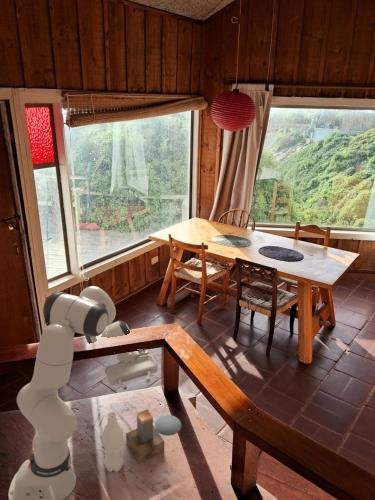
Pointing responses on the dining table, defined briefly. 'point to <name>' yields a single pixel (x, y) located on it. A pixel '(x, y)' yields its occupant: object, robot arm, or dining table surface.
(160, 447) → the block
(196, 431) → the dining table surface
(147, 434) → the plug peg
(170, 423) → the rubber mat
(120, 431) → the water bottle
